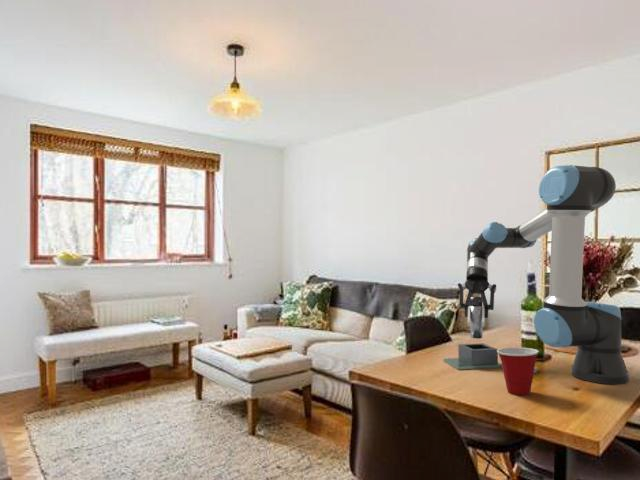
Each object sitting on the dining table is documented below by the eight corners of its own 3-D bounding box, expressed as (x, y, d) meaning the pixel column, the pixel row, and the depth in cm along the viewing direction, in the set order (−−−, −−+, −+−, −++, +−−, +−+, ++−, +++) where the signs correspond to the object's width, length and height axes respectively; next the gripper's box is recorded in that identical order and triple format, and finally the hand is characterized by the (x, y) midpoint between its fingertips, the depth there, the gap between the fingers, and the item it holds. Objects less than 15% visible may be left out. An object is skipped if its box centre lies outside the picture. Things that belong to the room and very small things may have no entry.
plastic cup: (507, 383, 135) (506, 343, 135) (545, 392, 127) (544, 349, 127) (490, 392, 127) (489, 349, 127) (529, 401, 119) (529, 355, 120)
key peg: (484, 338, 156) (484, 297, 157) (474, 338, 156) (473, 297, 156) (478, 335, 160) (478, 296, 161) (468, 336, 160) (468, 296, 160)
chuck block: (502, 367, 153) (502, 349, 153) (458, 369, 150) (457, 351, 150) (485, 359, 164) (485, 342, 164) (443, 361, 161) (443, 344, 161)
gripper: (501, 279, 170) (502, 332, 154) (454, 278, 176) (450, 329, 160) (501, 266, 165) (503, 319, 149) (452, 265, 171) (449, 316, 155)
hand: (476, 324), depth 155 cm, fingers closed on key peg, 4 cm apart
